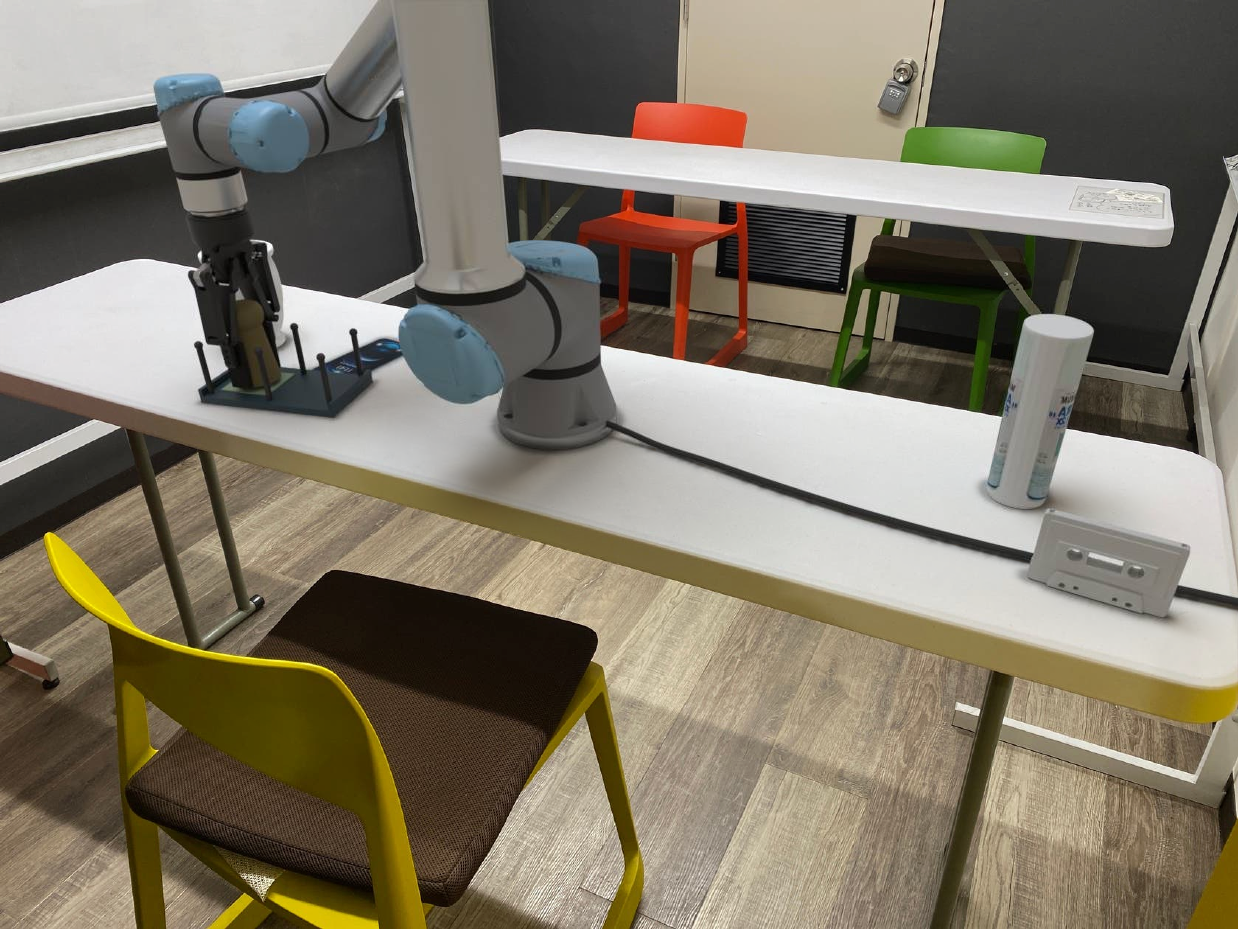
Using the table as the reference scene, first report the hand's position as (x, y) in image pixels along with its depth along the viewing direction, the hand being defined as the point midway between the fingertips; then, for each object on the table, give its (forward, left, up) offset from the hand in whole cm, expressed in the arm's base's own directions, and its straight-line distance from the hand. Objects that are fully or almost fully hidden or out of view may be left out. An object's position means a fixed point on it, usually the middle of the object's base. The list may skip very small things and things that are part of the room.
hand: (257, 376), depth 124 cm
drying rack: (-4, 0, -2) cm, 5 cm away
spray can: (-98, +5, -2) cm, 99 cm away
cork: (0, 0, 0) cm, 0 cm away
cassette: (-103, +22, -2) cm, 106 cm away
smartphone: (-9, -12, -3) cm, 16 cm away
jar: (+10, -14, -2) cm, 17 cm away
